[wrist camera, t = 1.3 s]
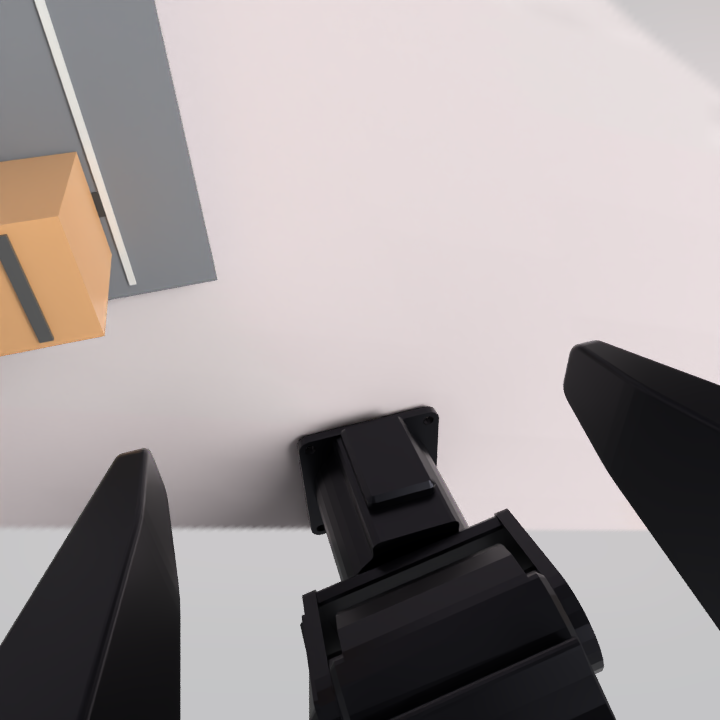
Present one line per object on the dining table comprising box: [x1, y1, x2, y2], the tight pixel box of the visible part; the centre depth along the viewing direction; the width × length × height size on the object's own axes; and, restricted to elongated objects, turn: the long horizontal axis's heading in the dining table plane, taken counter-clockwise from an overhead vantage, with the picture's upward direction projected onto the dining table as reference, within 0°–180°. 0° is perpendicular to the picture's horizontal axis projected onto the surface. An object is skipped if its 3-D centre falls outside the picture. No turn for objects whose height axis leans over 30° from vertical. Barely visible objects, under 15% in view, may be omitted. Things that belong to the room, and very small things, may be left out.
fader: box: [0, 152, 112, 356], centre depth 14 cm, size 3×2×4 cm
